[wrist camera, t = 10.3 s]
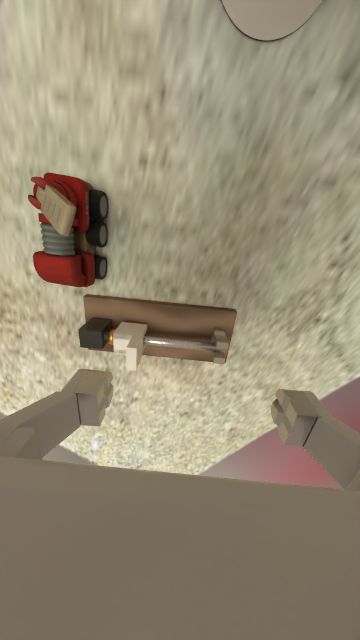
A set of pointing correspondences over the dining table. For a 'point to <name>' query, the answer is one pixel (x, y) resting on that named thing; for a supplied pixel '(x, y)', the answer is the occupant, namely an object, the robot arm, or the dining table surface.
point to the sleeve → (130, 343)
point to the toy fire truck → (69, 230)
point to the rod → (102, 332)
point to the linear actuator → (168, 324)
